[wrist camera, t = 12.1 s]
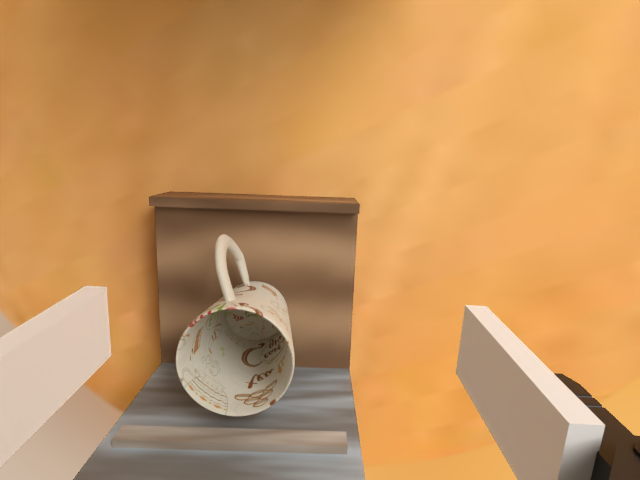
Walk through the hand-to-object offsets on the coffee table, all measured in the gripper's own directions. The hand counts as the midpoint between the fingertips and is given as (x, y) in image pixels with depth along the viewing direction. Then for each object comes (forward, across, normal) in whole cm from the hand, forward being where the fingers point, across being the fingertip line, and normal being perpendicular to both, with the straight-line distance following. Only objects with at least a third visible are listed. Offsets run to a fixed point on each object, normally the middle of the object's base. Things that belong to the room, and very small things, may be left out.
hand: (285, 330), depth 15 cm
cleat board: (+26, -4, -7) cm, 28 cm away
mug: (+22, -5, -7) cm, 24 cm away
